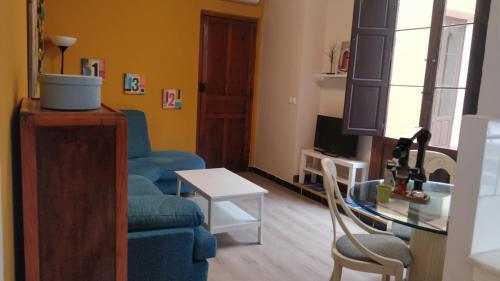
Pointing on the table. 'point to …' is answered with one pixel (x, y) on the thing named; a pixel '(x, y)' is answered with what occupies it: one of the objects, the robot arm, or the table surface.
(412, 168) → the robot arm
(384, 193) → the plant pot
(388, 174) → the coffee box
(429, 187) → the table surface
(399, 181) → the soda can
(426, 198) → the rack
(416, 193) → the tin
